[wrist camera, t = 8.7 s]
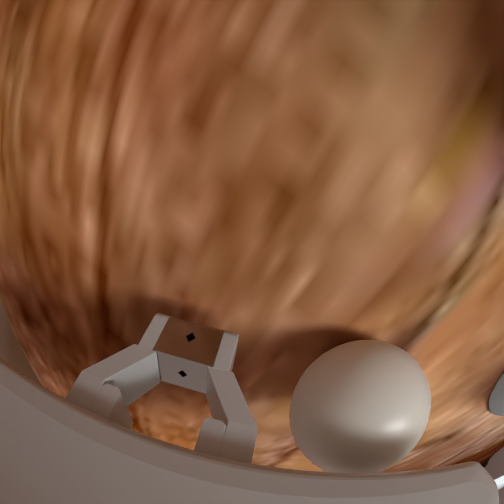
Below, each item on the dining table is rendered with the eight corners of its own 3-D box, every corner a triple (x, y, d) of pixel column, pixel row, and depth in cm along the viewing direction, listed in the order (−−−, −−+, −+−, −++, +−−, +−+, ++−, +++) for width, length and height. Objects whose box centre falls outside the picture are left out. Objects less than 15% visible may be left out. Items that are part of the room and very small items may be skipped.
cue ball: (465, 456, 6) (446, 327, 10) (325, 465, 6) (332, 294, 10) (374, 480, 10) (375, 382, 14) (260, 475, 9) (278, 362, 13)
